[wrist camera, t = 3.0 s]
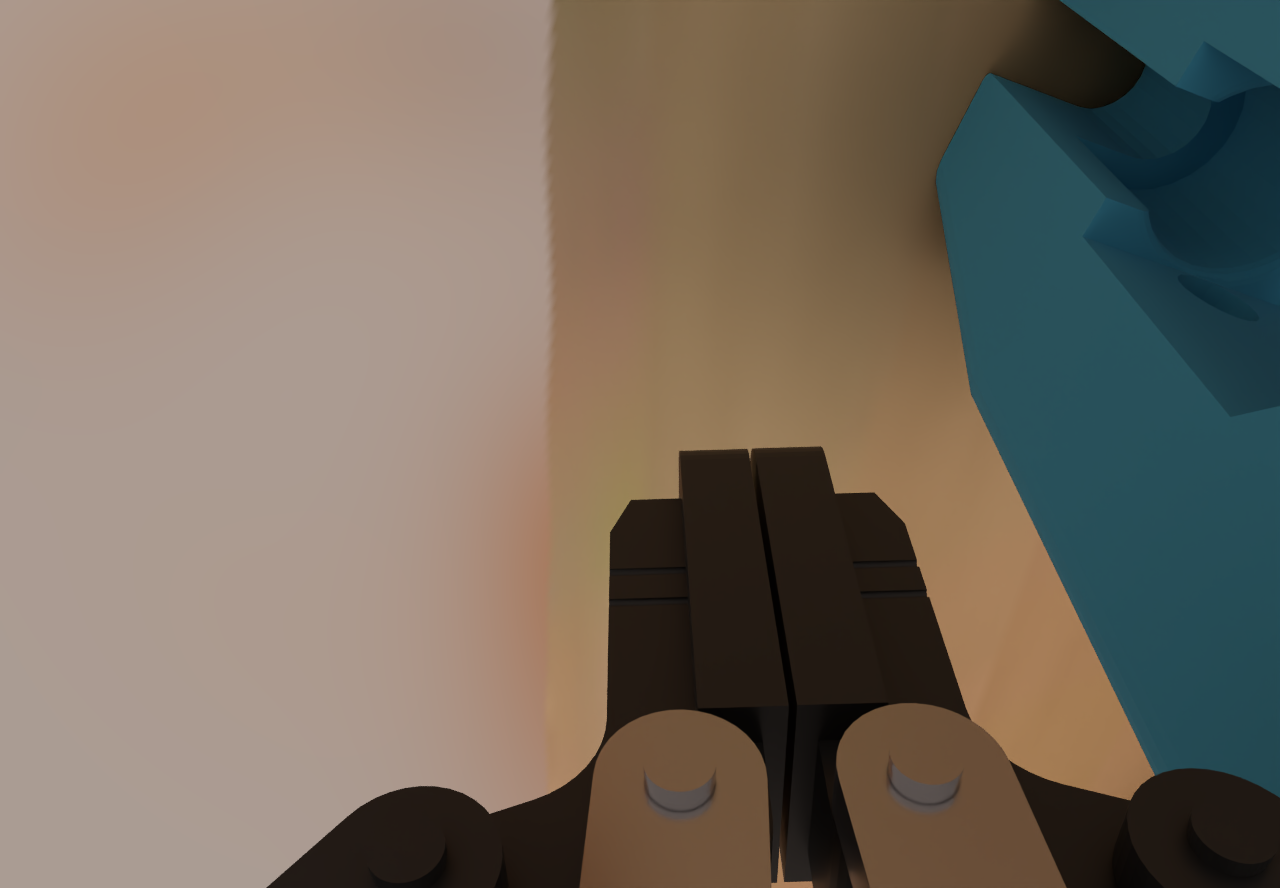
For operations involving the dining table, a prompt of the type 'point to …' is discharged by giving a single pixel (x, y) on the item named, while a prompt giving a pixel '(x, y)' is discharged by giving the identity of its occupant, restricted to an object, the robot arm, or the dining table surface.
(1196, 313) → the block
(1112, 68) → the dining table surface
